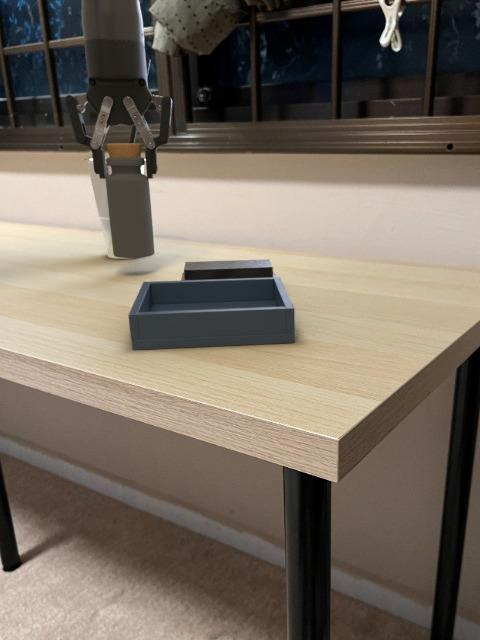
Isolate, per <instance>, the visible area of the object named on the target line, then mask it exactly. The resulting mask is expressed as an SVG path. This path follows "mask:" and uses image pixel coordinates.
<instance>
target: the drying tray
mask: <svg viewBox="0 0 480 640" xmlns="http://www.w3.org/2000/svg"><path fill="white" fill-rule="evenodd" d="M128 324H129V332H130V340H131V341H130V342H131V349H132V350H133V351H143V350H162V349H163V350H164V349H165V350H166V349H183V348H185V349H186V348H188V349H189V348H208V347H228V346H229V347H230V346H233V347H234V346H249V345H251V346H252V345H272V344H273V345H275V344H295V327H296V326H295V306H294V305H293V302H292V300H291V298H290V296H289V294H288V292H287V290H286V287H285V285H284V283H283V281H282V279H281V277H280V276H276V277H271V278H241V279H212V280H182V281H181V280H162V281H161V280H157V281H155V280H154V281H153V280H152V281H143V282H142V284H141V286H140V289H139V291H138V293H137V295H136V298H135V299H134V302H133V304H132V306H131V308H130V311H129V312H128Z"/></svg>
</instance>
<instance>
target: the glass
mask: <svg viewBox="0 0 480 640" xmlns="http://www.w3.org/2000/svg"><path fill="white" fill-rule="evenodd" d="M150 66H151V58H149V57H146V70H147V77H148V76H149V71H150ZM130 130H131V131H130V135H129V141H128V143H136V139H137V134H138V129H137V127H136V126H131V129H130ZM106 158H107V157H105V161H106ZM143 158H144V160H145V165H143V166H141V173H142V174H144V175H145V176H147V170H146V158H145V157H143ZM83 161H84V162H86V164H87V169H88V173H89V177H90V182H91V187H92V191H93V195H94V196H93V197H94V201H95V205H96V209H97V215H98V217H99V221H100V224H101V225H100V226H101V231H102V235H103V240H104V244H105V249H106V252H107V254H106V255H107V257H108V258H110V259H114V260H131V259H133V258H121V257H116V256H114V254H113V246H112V237H111V227H110V218H109V208H108V199H107V189H106V179H100V177H99V174H96V173H95V171H94V165H93V158H84V159H83ZM106 170H107V177H108V176H109V175H110V174H112V169H111V166H108V165H107V163H106Z"/></svg>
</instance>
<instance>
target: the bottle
mask: <svg viewBox="0 0 480 640" xmlns="http://www.w3.org/2000/svg"><path fill="white" fill-rule="evenodd" d="M142 147H143V144H142V143H136V142H135V143H129V142H128V143H126V142H125V143H121V142H120V143H106V149H107V152H108V155H109V157H105V158H106V163H107V165H108V166H111V169H112V174H110V175H109V176H108V177H107V178H106V189H107V199H108V208H109V218H110V227H111V237H112V246H113V254H114V256H116V257H121V258H132V259H139V258H146V257H150V256H153V255H155V241H154V228H153V227H154V226H153V215H152V202H151V190H150V189H151V188H150V179H147V176H145V175H144V174H142V173H141V166H143V165H145V160H144V158H145V157H143V156H142Z"/></svg>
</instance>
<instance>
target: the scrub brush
mask: <svg viewBox="0 0 480 640" xmlns="http://www.w3.org/2000/svg"><path fill="white" fill-rule="evenodd" d="M271 277H277V275H276V274H275V271H274V267H273V265H272V262H271V260H270V259H269V258H268V259H238V260H236V259H235V260H205V261H204V260H203V261H185V263H184V268H183V272H182V274H181V279H180V281H182V280H212V279H241V278H271Z"/></svg>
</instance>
